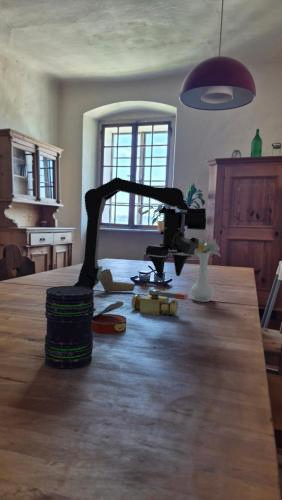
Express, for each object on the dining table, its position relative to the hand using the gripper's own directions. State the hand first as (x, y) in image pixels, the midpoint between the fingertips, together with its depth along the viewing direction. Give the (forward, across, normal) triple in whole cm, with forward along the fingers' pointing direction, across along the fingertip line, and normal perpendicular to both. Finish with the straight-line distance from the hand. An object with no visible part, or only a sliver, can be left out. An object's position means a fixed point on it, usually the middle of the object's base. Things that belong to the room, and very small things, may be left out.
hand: (169, 277), depth 109 cm
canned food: (+13, -24, +2) cm, 27 cm away
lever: (+7, +1, +1) cm, 7 cm away
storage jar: (+13, -45, -9) cm, 48 cm away
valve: (+13, 0, +6) cm, 14 cm away
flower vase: (+13, +30, +6) cm, 33 cm away
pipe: (+13, +13, +38) cm, 42 cm away
